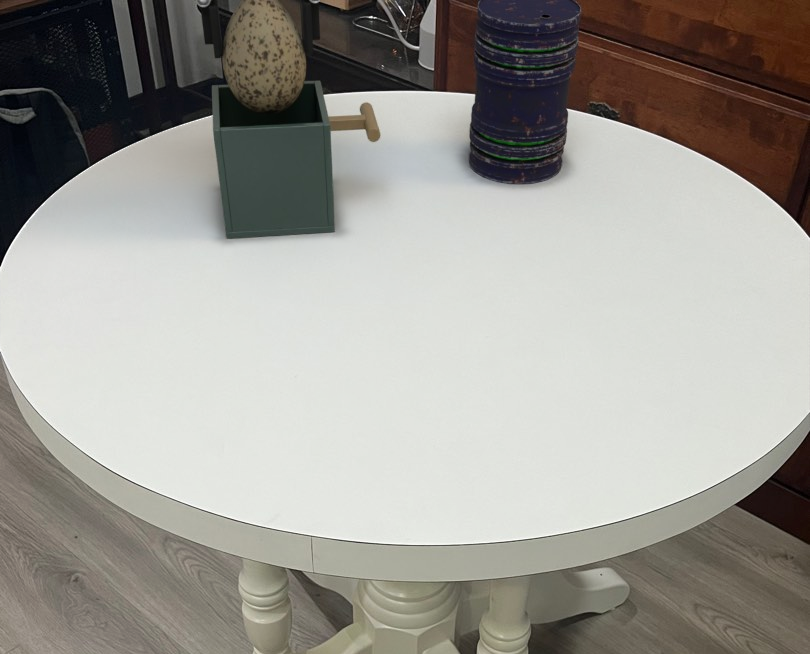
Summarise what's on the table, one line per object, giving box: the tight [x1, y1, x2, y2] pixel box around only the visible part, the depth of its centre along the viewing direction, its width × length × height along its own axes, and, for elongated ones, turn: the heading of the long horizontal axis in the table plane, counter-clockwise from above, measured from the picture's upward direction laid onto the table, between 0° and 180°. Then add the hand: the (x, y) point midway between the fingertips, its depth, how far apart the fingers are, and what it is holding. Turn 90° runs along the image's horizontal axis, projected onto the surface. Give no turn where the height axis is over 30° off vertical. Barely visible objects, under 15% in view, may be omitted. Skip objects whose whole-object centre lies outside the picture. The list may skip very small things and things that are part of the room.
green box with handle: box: [211, 80, 381, 239], centre depth 92 cm, size 10×10×15 cm
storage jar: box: [468, 0, 582, 185], centre depth 98 cm, size 10×10×15 cm
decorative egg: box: [221, 0, 307, 114], centre depth 85 cm, size 7×7×10 cm
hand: (263, 49), depth 85 cm, fingers closed on decorative egg, 7 cm apart
